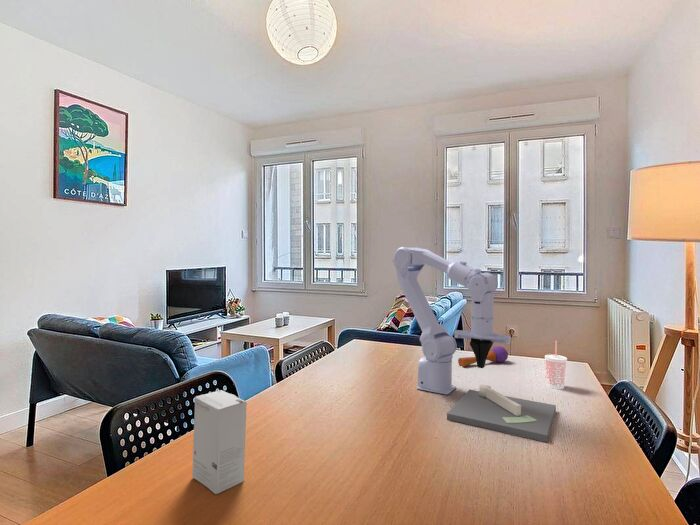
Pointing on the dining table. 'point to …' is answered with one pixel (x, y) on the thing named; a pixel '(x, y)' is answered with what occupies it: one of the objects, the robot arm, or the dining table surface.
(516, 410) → the cream bar
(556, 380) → the beverage cup
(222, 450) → the skincare box
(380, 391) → the dining table surface
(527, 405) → the board
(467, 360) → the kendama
